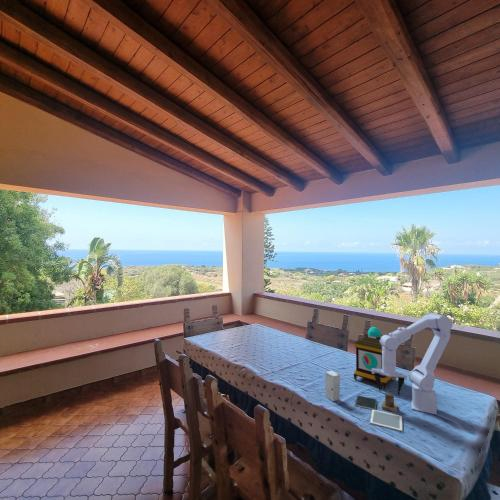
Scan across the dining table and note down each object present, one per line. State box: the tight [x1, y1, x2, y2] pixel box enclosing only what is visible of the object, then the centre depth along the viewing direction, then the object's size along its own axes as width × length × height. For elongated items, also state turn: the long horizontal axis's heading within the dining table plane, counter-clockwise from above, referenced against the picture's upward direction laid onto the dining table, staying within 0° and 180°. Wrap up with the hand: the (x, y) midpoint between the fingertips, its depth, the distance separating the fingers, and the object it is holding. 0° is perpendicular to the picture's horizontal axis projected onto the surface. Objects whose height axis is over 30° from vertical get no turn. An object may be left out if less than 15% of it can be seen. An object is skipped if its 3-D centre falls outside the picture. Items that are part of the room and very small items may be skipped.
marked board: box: [369, 409, 404, 433], centre depth 118 cm, size 12×12×1 cm
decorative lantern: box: [353, 326, 397, 390], centre depth 159 cm, size 20×20×30 cm
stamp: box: [381, 392, 398, 414], centre depth 129 cm, size 6×6×6 cm
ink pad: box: [354, 395, 378, 411], centre depth 132 cm, size 9×9×1 cm
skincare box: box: [324, 370, 341, 402], centre depth 138 cm, size 6×4×12 cm
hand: (389, 392), depth 129 cm, fingers open, 7 cm apart
